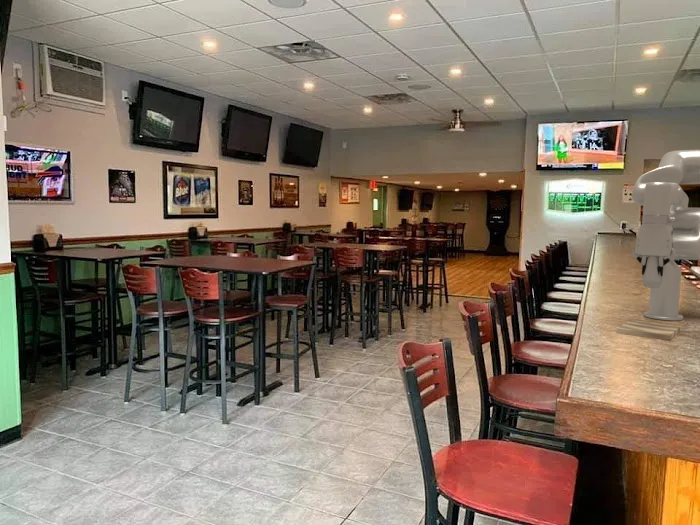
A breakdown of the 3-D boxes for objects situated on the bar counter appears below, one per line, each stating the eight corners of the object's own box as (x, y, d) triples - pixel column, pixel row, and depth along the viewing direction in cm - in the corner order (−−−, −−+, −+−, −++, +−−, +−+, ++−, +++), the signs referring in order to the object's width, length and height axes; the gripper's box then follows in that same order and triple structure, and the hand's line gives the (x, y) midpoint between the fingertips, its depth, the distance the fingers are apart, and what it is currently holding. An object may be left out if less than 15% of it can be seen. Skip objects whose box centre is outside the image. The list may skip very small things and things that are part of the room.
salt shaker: (664, 288, 167) (667, 248, 166) (645, 288, 168) (647, 247, 167) (657, 286, 173) (660, 246, 171) (638, 285, 174) (641, 246, 173)
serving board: (629, 324, 183) (629, 319, 183) (679, 330, 174) (680, 326, 174) (616, 332, 170) (616, 328, 170) (669, 340, 160) (670, 335, 160)
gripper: (687, 221, 166) (683, 279, 168) (630, 220, 176) (627, 274, 178) (683, 221, 160) (679, 281, 162) (624, 220, 171) (621, 276, 173)
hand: (652, 277), depth 170 cm, fingers closed on salt shaker, 3 cm apart
